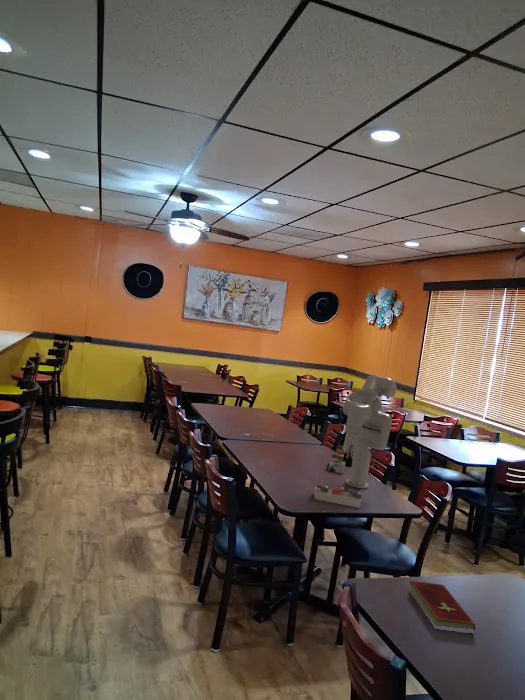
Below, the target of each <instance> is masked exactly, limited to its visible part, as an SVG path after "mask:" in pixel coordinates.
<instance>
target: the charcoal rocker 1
mask: <svg viewBox="0 0 525 700" xmlns="http://www.w3.org/2000/svg"><path fill="white" fill-rule="evenodd" d="M315 486H316V487H317V488H320V489H322V490H324V491H327V492H328V491H329V489H330V487H329V486H328V485H326V484H324V483H320V482H319V481H316V484H315Z"/></svg>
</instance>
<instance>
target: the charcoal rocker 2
mask: <svg viewBox="0 0 525 700" xmlns="http://www.w3.org/2000/svg"><path fill="white" fill-rule="evenodd" d="M347 492H348V493H349V494H352V495H354V496H357V497H359V498H361V499H362V497H363V496H362V492H360V491H358V490H355V489H353V488H351V487H348V491H347Z"/></svg>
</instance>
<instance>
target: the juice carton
mask: <svg viewBox="0 0 525 700" xmlns="http://www.w3.org/2000/svg"><path fill="white" fill-rule="evenodd" d="M343 457H344V456H342V455H336V454H333V455H332V456H331V458H330V462H329V467H328V471H329V470H330V472H331V471H333V472H335V473H339V474H342V475H343V474H345V472H346V468H347V467H345V462H344V461H343Z"/></svg>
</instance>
